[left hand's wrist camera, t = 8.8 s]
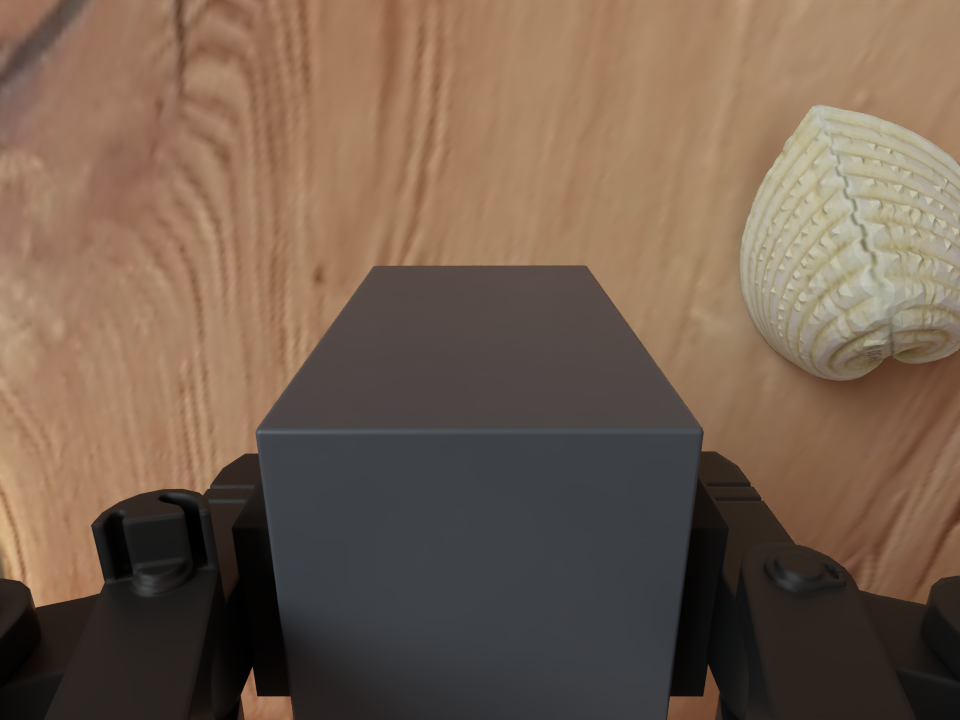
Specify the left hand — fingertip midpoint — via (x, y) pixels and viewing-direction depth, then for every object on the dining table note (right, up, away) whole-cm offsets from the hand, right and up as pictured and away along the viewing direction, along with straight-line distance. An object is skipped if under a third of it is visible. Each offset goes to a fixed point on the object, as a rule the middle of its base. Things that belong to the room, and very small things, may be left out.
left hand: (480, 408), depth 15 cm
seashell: (+14, +5, +11) cm, 18 cm away
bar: (0, -7, +3) cm, 8 cm away
